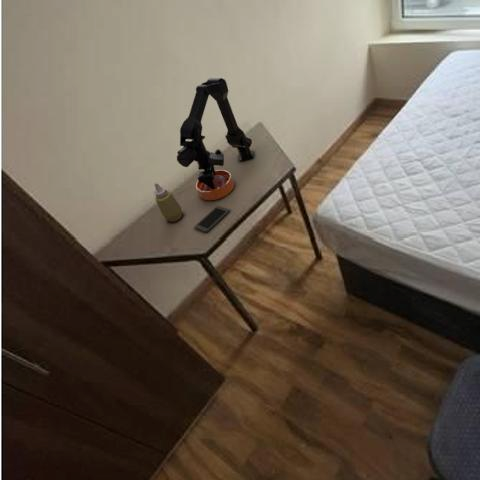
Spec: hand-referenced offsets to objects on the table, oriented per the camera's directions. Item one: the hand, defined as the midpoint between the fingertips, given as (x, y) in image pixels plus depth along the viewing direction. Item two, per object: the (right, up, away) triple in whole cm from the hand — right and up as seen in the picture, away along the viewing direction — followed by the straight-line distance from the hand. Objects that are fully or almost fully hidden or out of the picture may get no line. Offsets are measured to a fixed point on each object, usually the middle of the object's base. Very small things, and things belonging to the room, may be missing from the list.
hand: (214, 182), depth 176 cm
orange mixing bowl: (+1, -3, +3) cm, 4 cm away
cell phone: (+3, -17, -13) cm, 21 cm away
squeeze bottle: (-15, -16, -6) cm, 22 cm away
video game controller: (+1, -2, +3) cm, 4 cm away
